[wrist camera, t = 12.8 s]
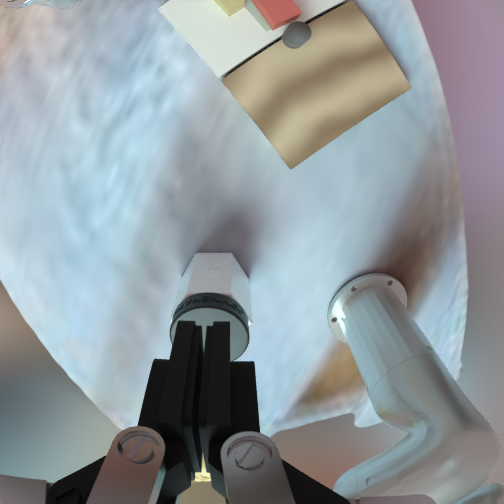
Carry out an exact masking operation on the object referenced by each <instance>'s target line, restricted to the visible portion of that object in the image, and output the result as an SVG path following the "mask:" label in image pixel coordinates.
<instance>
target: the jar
mask: <svg viewBox="0 0 504 504" xmlns="http://www.w3.org/2000/svg"><path fill="white" fill-rule="evenodd" d="M178 320H184V321H195V322H196V325H202V334H203V347H205V336H206V327H207V326H213V321H230V361H234V360H236V359H237V358H239V357H240V356H241V355H242V354H243V353H244V352H245V350H246V348H247V346H248V344H249V327H250V326H251V324H252V322H253V321H252V309H251V297H250V285H249V279H248V277H247V275H246V274H245V272H244V271H243V269H242V268H241V266H240V265H239V263H238V262H237V260H236V259H235V257H234V255H233V254H232V253H196V254H195V255H194V257H193V258H192V260H191V262H190V264H189V265H188V267H187V269H186V271H185V273H184V274H183V276H182V278H181V280H180V284H179V287H178V291H177V295H176V299H175V302H174V306H173V310H172V314H171V318H170V323H171V327H170V339H171V342H172V345H173V341H174V336H175V331H176V327H177V323H178Z"/></svg>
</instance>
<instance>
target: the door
mask: <svg viewBox="0 0 504 504" xmlns="http://www.w3.org/2000/svg"><path fill="white" fill-rule="evenodd" d="M293 1H294V2H295V4H296V5H297V6H298V8H299V9H300V11H301V12H302V13H301V15H300V16H299V17H298V18H297V19H296V20H294V21H292V22H295V21H301V22H304V23H306V22H308V21H310V20H312V19H313V18H315V17H317V16H319V15H321V14H322V13H324V12H326V11H328V10H330V9H332V8H334V7H336V6H338V5H340V4H342V3H344V2H346V1H347V0H293ZM158 10H159V12H160V13H161V14H162V15H163V16H164V17H165V18H166V19H167V20H168V21H169V22H170V23H171V24H172V26H173V27H174V28H175V29H176V30H177V31H178V32H179V33H180V34H181V35H182V36H183V38H184V39H185V40H186V41H187V42H188V43H189V44H190V45H191V47H192V48H193V49H194V50H195V51H196V52H197V53H198V54H199V56H200V57H201V58H202V59H203V60H204V61H205V62H206V64H207V65H208V66H209V67H210V68H211V69H212V71H213V72H214V73H215V74H216V75H217V77H218V78H219V79H220V78H222V77H223V76H224V75H226V74H227V73H229V72H230V71H231V70H233V69H234V68H236V67H237V66H238V65H240V64H241V63H243V62H244V61H246V60H247V59H249V58H250V57H252V56H253V55H255V54H256V53H258V52H259V51H261V50H262V49H264V48H265V47H267V46H268V45H270V44H271V43H273V42H275V41H276V40H278V39H279V38H281V36H282V35H283V33H284V31H285V30H286V29H287V27H288V26H289V25H290V24H291V23H292V22H290V23H288V24H285V25H283V26H281V27H279V28H277V29H275V30H272V29H271V28H270V26H269V25H268V23H267V22H266V20H265V19H264V17H263V16H262V15H261V13H260V12H259V10H258V9H257V8H256V6H255V5H254V4H253V2H252V1H251V0H169V1H168V2H167V3H165V4H164V5H162V6H161V7H160V8H159V9H158Z"/></svg>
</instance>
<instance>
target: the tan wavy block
mask: <svg viewBox="0 0 504 504" xmlns="http://www.w3.org/2000/svg"><path fill="white" fill-rule="evenodd" d="M221 81H222V83H223V84H224V85H225V86H226V87H227V89H228V90H229V91H230V92H231V93H232V95H233V96H234V97H235V98H236V100H237V101H238V102H239V103H240V104H241V106H242V107H243V108H244V109H245V111H246V112H247V113H248V115H249V116H250V117H251V118H252V120H253V121H254V122H255V123H256V125H257V126H258V127H259V129H260V130H261V131H262V132H263V134H264V135H265V136H266V138H267V139H268V140H269V142H270V143H271V144H272V145H273V147H274V148H275V149H276V151H277V152H278V153H279V155H280V156H281V157H282V159H283V160H284V162H285V163H286V164H287V166H288V167H289V168H290V169H292V168H294V167H295V166H297V165H298V164H299V163H301V162H302V161H304V160H305V159H307V158H308V157H309V156H311V155H312V154H314V153H315V152H317V151H318V150H319V149H321V148H322V147H324V146H325V145H327V144H328V143H330V142H331V141H332V140H334V139H335V138H337V137H338V136H340V135H341V134H343V133H344V132H346V131H347V130H349V129H350V128H351V127H353V126H354V125H356V124H357V123H359V122H360V121H362V120H363V119H365V118H366V117H368V116H369V115H371V114H372V113H374V112H375V111H377V110H378V109H380V108H381V107H383V106H385V105H386V104H388V103H389V102H391V101H392V100H394V99H395V98H397V97H398V96H400V95H401V94H403V93H405V92H406V91H408V90H409V89H411V86H410V84H409V82H408V81H407V79H406V77H405V75H404V74H403V72H402V70H401V69H400V67H399V66H398V64H397V62H396V61H395V59H394V58H393V56H392V54H391V53H390V51H389V50H388V48H387V47H386V45H385V44H384V42H383V41H382V39H381V38H380V36H379V35H378V33H377V32H376V31H375V29H374V28H373V26H372V25H371V24H370V22H369V21H368V19H367V18H366V17H365V15H364V14H363V13H362V11H361V10H360V9H359V8H358V6H357V5H356V4H355V2H354V1H353V0H352V1H350V2H348V3H346V4H344V5H342V6H340V7H338V8H336V9H334V10H332V11H330V12H328V13H326V14H325V15H323V16H321V17H319V18H317V19H315V20H314V21H312V22H310V23H308V24H306V23H304V22H301V21H295V22H292V23H291V24H290V25H289V26H288V27H287V29H286V30H285V31H284V33H283V35H282V36H281V38H280V41H278V42H277V43H275V44H274V45H272V46H270V47H269V48H267V49H266V50H264V51H263V52H261V53H260V54H258V55H257V56H255V57H254V58H252V59H251V60H249V61H248V62H246V63H245V64H243V65H242V66H241V67H239V68H238V69H236V70H235V71H233V72H232V73H231V74H229V75H228V76H226V77H225V78H224V79H222V80H221Z"/></svg>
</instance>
